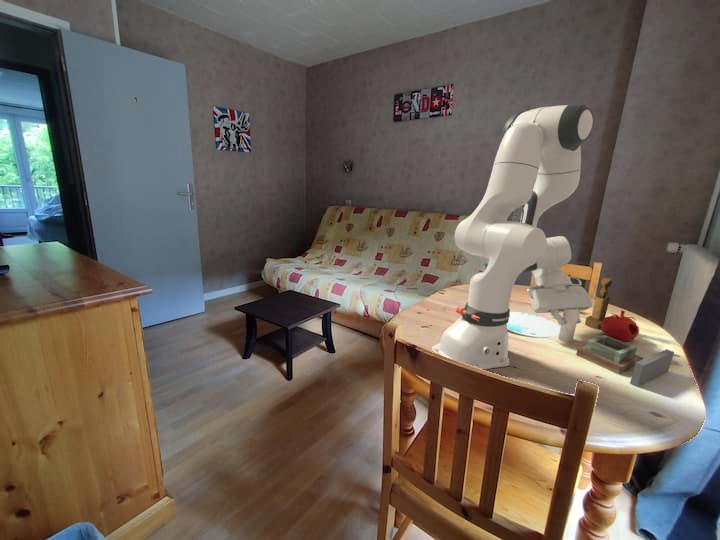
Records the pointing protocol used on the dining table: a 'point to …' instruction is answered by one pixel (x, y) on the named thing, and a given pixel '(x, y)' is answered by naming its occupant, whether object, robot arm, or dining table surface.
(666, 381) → the dining table surface
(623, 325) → the pomegranate
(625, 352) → the socket block
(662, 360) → the backstop wall
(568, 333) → the dowel
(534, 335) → the dining table surface
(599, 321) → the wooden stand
